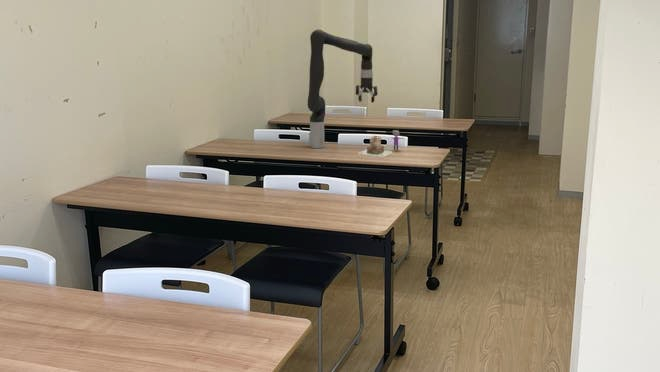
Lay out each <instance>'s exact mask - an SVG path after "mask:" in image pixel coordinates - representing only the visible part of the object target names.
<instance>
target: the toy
mask: <svg viewBox="0 0 660 372" xmlns="http://www.w3.org/2000/svg"><path fill="white" fill-rule="evenodd" d="M392 135H393V136H394V137H392V139H393V152H398V151H399V140H401V139H402V140H403V139H405V137H399V136H400V130H399V129H394V130H392Z"/></svg>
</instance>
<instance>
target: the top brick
mask: <svg viewBox="0 0 660 372" xmlns="http://www.w3.org/2000/svg"><path fill="white" fill-rule="evenodd" d="M381 139H382V137H381V136H378V135H372V136H370V137H369V146H370V147H376V148H378V147H380V146H381V145H382V140H381Z"/></svg>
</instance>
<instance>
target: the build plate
mask: <svg viewBox="0 0 660 372" xmlns="http://www.w3.org/2000/svg"><path fill="white" fill-rule="evenodd" d="M392 153H393V151H391V150H384V152H383V153H381V154H379V155H377V154H368V153H367V148H366V149H364V150H362V151H359V152H358V153H357V154H358V155H364V156H365V155H366V156H375V157H382V158H383V157H386V156H388V155H390V154H392Z"/></svg>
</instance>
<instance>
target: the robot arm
mask: <svg viewBox="0 0 660 372" xmlns="http://www.w3.org/2000/svg"><path fill="white" fill-rule="evenodd" d="M309 40H310V50H311V51H310V60H309V83H308V84H309V85H308V94H307V95H308V96H307V108H308V110H309V111H310V112H312V113H311V115H310V117H309V132H308V145H309V148H312V149H323V148H325V116H326V101H325V99H324V98H323V96H321V95H320V91H321V86H322V84H323V82H324V77H325V61H324V45H328V46H332V47H336V48H338V49H341V50H343V51H347V52H351V53H355V54H358V55H359V56H360V55H361V62H360V84H357V85H356V86H355V95H357V96H358V101H359V103H361V102H362V101H363V97H362V95H363V94H364V93H366V94H367V93H368V94H369V95H370V96H371V97H370V101H371V103H373V104H374V102H375V97H377V96H378V86H377V85H375V86H373V76H374V75H373V46H372V45H371V44H369V43H366V44H365V43H361V42H358V41H356V40H353V39H349V38H344V37H341V36H337V35H333V34H330V33H328V32H326V31H324V30H322V29H315V30H313V31H312V32H311V33H310V37H309Z"/></svg>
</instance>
